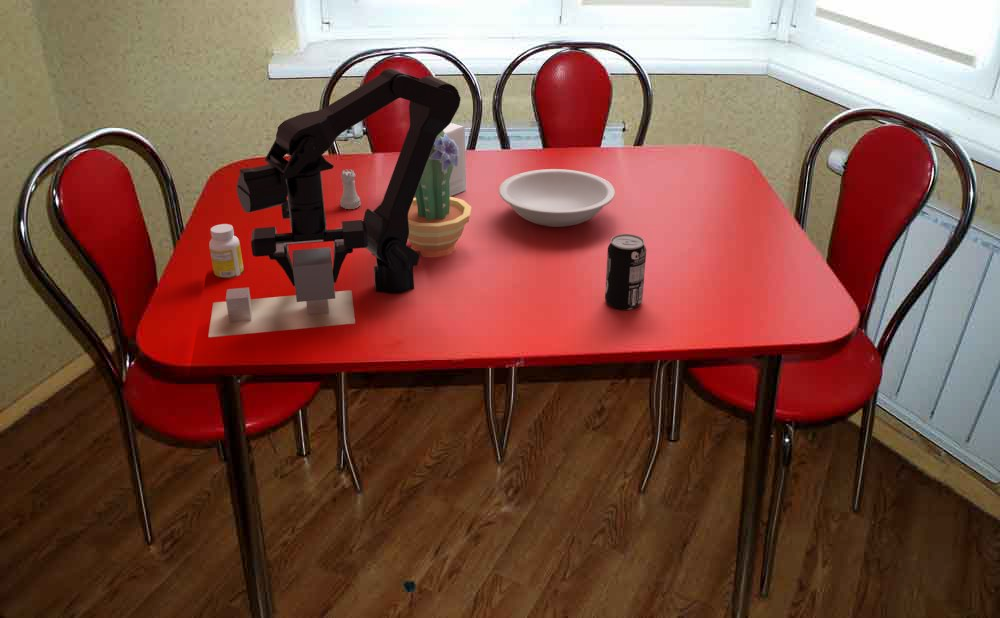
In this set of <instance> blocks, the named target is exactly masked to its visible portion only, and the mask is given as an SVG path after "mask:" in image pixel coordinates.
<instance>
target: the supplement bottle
mask: <svg viewBox="0 0 1000 618" xmlns="http://www.w3.org/2000/svg"><path fill="white" fill-rule="evenodd" d="M234 231H235V230H234V227H233V225H232V224H230V223H229V224H228V223H221V224H216V225H214V226H212V227H210V236H211V238H210V240H209V243H208V244H209V245H208V247H209V252H210V253H209V254H210V258H211V263H212V269H213V274H214V275H215V277H217V278H219V279H232V278H235V277H238V276H241V275H242V274H243V273H244V271H245V270H244V263H243V258H242V257H243V256H242V250H241V243H240V240H239V238H238V237H237V236H236V235H235V232H234Z"/></svg>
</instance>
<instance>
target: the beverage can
mask: <svg viewBox="0 0 1000 618" xmlns="http://www.w3.org/2000/svg"><path fill="white" fill-rule="evenodd" d="M606 255H607V258H606V272H605V273H606V274H605V289H604V291H605V292H604V299H605V301H606V303H607V304H608V305H609V306H610V307H612V308H613V309H616V310H623V311H624V310H625V311H629V310H633V309H636V308H637V307H638V306H639V305H641V303H642V302H643V300H644V299H643V298H644V284H645V271H646V259H647V248H646V245H645V240H644V239H643V238H642V236H639V235H636V234H631V233H621V234H616V235H614V236H612V237H611V239H610V243H609V244H608V246H607V254H606Z"/></svg>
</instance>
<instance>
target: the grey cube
mask: <svg viewBox="0 0 1000 618" xmlns="http://www.w3.org/2000/svg"><path fill="white" fill-rule="evenodd" d="M306 303H307V312H308V315H318V314H329V304H328V299H325V300H314V301H306Z"/></svg>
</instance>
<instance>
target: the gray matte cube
mask: <svg viewBox="0 0 1000 618" xmlns="http://www.w3.org/2000/svg"><path fill="white" fill-rule="evenodd" d="M291 255H292V258H291V259H292V266H293V275H294V283H295V286H294V290H295V295H296V300H297V302H303V301H314V300H325V299H335V292H336V290H335V283H334V279H333V258H332V257H333V256H332V248H331V247H330V246H327V247H317V248H314V247H313V248H304V249H292V254H291Z"/></svg>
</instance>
